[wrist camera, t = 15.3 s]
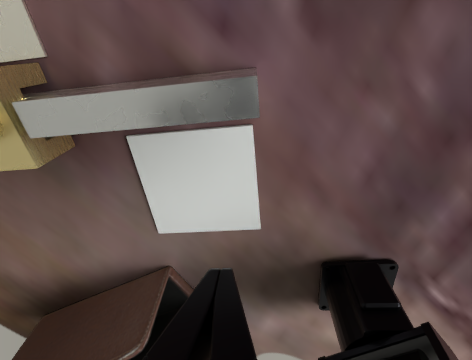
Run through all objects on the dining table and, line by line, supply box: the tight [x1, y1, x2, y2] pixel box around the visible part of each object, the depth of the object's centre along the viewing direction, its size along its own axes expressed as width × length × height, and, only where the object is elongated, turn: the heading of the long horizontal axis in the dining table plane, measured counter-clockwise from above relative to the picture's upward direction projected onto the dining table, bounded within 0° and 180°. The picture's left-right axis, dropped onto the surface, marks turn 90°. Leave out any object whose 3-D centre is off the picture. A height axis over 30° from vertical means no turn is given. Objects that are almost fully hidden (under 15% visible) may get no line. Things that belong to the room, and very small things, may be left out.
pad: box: [126, 124, 261, 233], centre depth 19 cm, size 9×9×1 cm
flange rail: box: [0, 0, 260, 138], centre depth 12 cm, size 11×22×6 cm, turn 96°
